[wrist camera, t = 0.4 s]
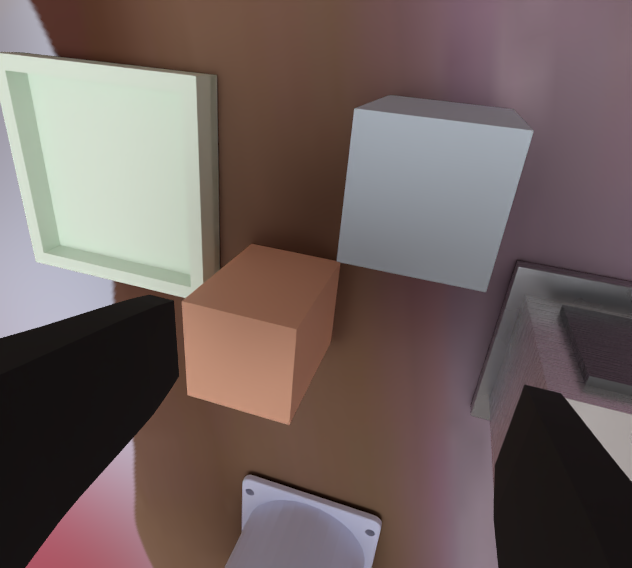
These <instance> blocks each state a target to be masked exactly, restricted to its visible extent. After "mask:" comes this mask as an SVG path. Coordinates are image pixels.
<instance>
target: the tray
mask: <svg viewBox="0 0 632 568" xmlns="http://www.w3.org/2000/svg"><path fill="white" fill-rule="evenodd" d="M0 103H1V107H2V112H3V116H4V121H5V125H6V130H7V134H8V139H9V143H10V147H11V152H12V157H13V161H14V166H15V170H16V175H17V179H18V184H19V188H20V193H21V197H22V202H23V206H24V210H25V215H26V219H27V224H28V228H29V233H30V237H31V242H32V246H33V251H34V255H35V260H36V262H39V263H43V264H47V265H51V266H56V267H60V268H64V269H68V270H72V271H76V272H81V273H85V274H89V275H93V276H97V277H101V278H106V279H109V280H113V281H117V282H122V283H126V284H130V285H134V286H138V287H142V288H146V289H150V290H155V291H159V292H163V293H167V294H171V295H175V296H179V297H183V298H186V297H187V296H189V295H190V294H191V293H192V292H193V291H195V290H196V289H197V288H198V287H200V286H201V285H202V284H203V283H204V282H206V281H207V280H208V279H209V278H210V277H212V276H213V275H214V274H215V273H216V272H218V271H219V270H220V239H219V174H218V110H217V75H212V74H204V73H195V72H186V71H178V70H169V69H160V68H152V67H143V66H134V65H126V64H117V63H108V62H100V61H91V60H82V59H74V58H65V57H56V56H48V55H39V54H30V53H20V52H18V53H17V52H0Z"/></svg>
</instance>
